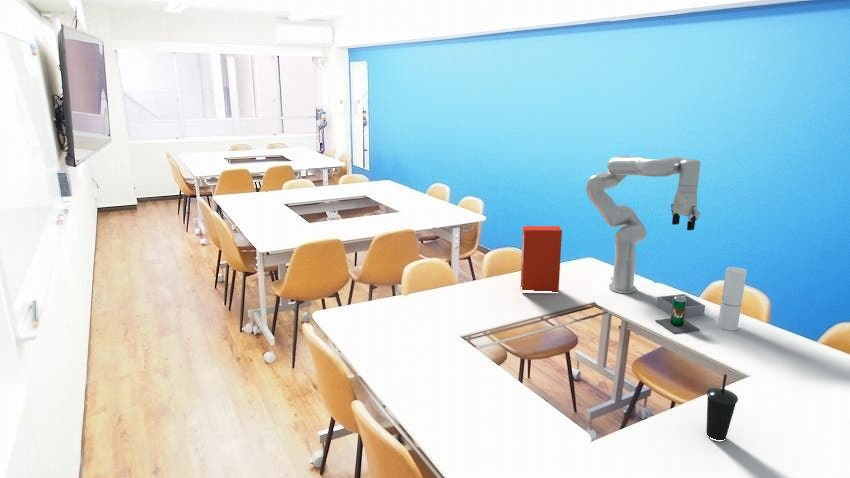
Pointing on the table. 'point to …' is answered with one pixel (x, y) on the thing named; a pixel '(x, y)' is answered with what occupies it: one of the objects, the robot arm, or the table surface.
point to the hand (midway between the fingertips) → (682, 227)
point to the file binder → (541, 258)
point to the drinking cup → (719, 411)
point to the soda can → (678, 310)
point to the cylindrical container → (732, 298)
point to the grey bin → (692, 305)
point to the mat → (677, 329)
